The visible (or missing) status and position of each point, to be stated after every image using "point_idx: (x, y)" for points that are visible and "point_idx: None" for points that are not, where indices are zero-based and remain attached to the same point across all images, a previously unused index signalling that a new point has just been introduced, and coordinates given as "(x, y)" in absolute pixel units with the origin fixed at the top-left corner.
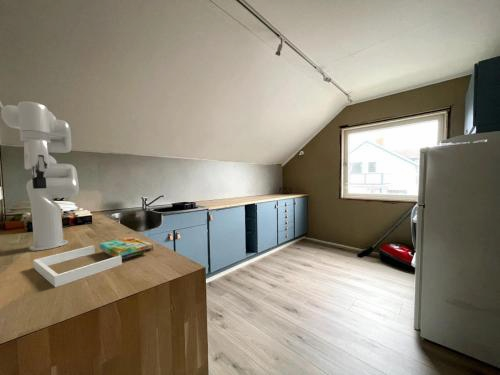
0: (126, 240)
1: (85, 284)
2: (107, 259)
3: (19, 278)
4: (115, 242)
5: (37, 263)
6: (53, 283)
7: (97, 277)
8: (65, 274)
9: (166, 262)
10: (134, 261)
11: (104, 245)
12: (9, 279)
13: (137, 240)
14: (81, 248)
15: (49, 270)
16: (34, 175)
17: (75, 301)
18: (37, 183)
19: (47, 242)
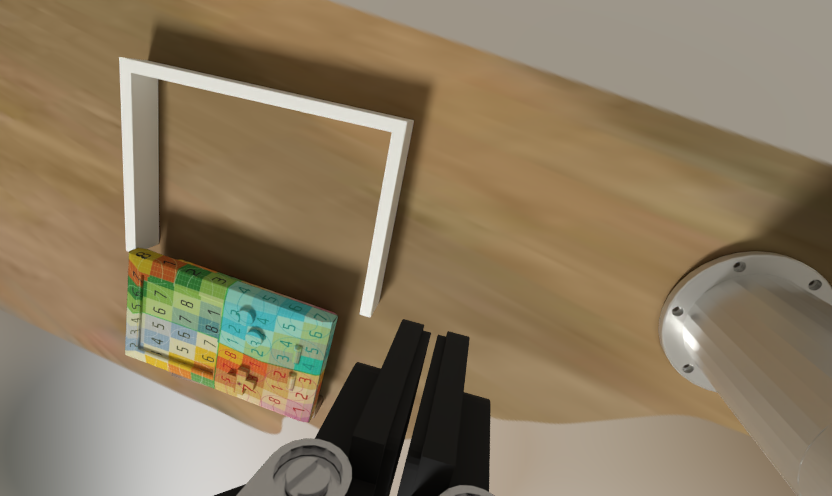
0: (248, 368)
1: (93, 106)
2: (132, 213)
3: (347, 49)
4: (247, 332)
5: (339, 106)
6: (158, 63)
7: (114, 149)
8: (123, 86)
9: (49, 287)
10: None
11: (270, 303)
12: (374, 29)
13: (204, 374)
14: (372, 275)
15: (197, 80)
16: (306, 484)
17: (11, 36)
18: (348, 381)
19: (708, 308)
